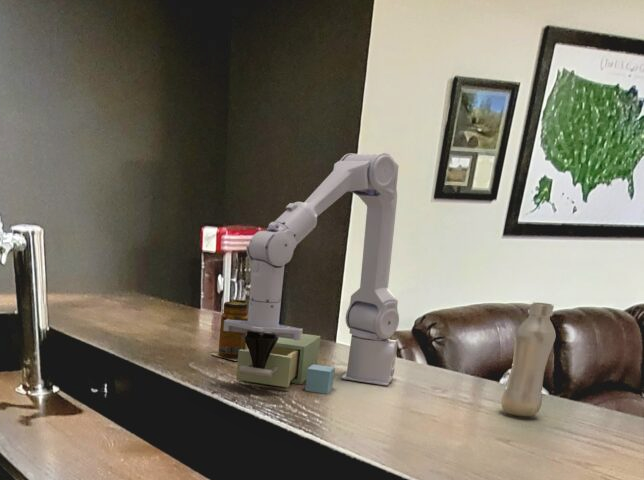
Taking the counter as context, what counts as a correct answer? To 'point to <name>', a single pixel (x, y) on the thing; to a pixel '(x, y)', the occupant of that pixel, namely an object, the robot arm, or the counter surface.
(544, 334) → the plastic bottle
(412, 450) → the counter surface
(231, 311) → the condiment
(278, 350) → the green drawer
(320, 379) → the light blue cube
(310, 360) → the green drawer cabinet
